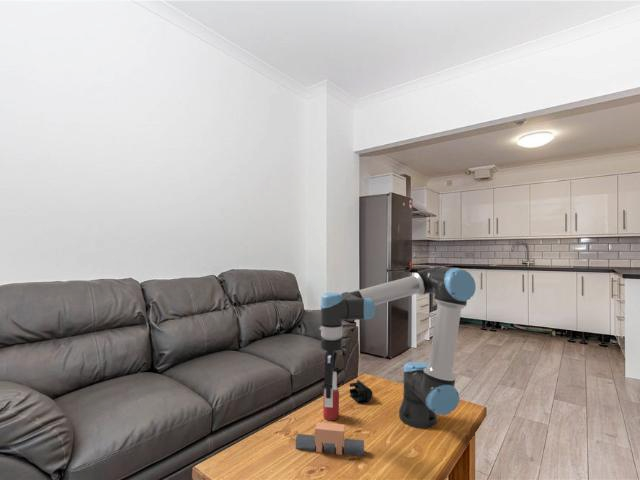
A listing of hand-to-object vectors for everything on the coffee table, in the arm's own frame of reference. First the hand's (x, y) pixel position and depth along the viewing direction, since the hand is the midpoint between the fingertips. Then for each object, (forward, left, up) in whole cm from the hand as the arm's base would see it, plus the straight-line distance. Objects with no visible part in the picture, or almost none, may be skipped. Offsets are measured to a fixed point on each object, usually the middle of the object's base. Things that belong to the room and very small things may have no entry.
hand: (330, 397), depth 116 cm
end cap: (-10, -41, -19) cm, 46 cm away
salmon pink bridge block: (0, 0, -18) cm, 18 cm away
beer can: (+2, -22, -19) cm, 29 cm away
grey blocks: (0, 0, -18) cm, 18 cm away
